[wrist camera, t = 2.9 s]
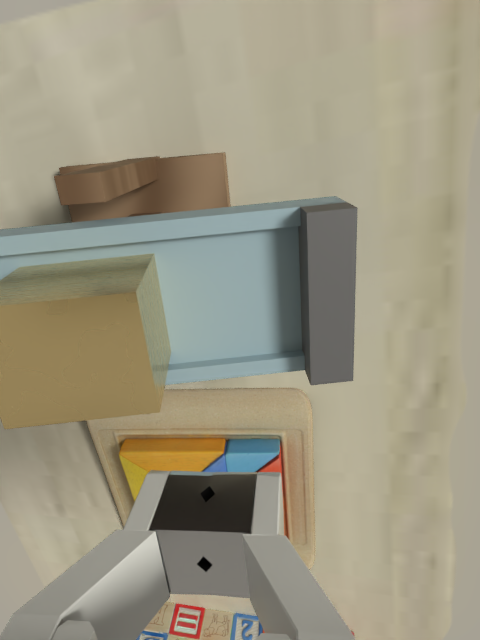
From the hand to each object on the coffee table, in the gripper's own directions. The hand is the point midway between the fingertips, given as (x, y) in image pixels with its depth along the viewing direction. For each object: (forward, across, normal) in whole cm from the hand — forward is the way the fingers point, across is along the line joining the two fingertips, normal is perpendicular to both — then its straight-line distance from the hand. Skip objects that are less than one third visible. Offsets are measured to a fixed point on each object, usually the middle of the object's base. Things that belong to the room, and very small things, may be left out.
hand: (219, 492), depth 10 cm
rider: (+10, +7, 0) cm, 13 cm away
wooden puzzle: (+21, +6, +20) cm, 29 cm away
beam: (+12, +7, 0) cm, 14 cm away
